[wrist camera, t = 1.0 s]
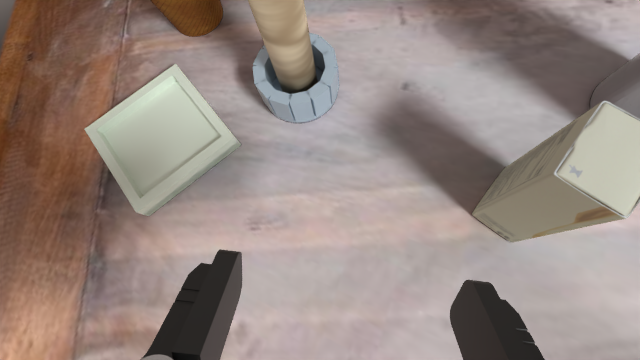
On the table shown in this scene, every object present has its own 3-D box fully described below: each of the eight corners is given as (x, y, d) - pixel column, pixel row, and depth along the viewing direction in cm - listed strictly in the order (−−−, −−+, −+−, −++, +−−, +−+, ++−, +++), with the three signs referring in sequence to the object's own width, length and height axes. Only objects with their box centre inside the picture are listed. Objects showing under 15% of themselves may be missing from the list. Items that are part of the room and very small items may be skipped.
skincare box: (511, 244, 28) (627, 226, 16) (468, 214, 29) (549, 177, 17) (548, 190, 29) (682, 137, 17) (506, 163, 30) (605, 96, 18)
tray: (184, 74, 36) (175, 63, 35) (241, 144, 33) (234, 137, 31) (98, 136, 35) (84, 128, 33) (149, 216, 32) (136, 212, 30)
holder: (306, 44, 36) (301, 17, 32) (353, 90, 34) (354, 68, 30) (249, 87, 35) (237, 65, 31) (294, 137, 33) (286, 120, 29)
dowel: (302, 64, 35) (256, -139, 17) (325, 86, 34) (299, -106, 16) (274, 85, 34) (198, -102, 17) (296, 109, 33) (239, -65, 16)
